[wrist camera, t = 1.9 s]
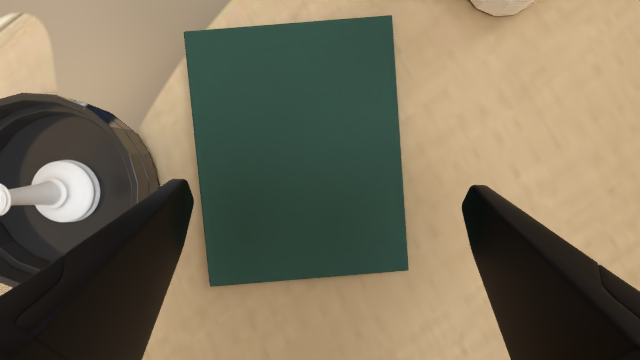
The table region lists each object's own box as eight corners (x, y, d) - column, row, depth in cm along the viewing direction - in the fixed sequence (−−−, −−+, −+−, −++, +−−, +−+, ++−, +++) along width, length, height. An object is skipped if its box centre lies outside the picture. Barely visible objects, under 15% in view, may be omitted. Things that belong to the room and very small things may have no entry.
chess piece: (51, 229, 24) (-142, 277, 14) (29, 170, 24) (-184, 176, 14) (109, 210, 24) (-42, 245, 14) (88, 151, 24) (-82, 142, 14)
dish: (157, 280, 24) (135, 297, 21) (-16, 271, 24) (-63, 286, 21) (162, 108, 24) (140, 99, 21) (-16, 97, 24) (-65, 87, 21)
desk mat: (406, 267, 25) (408, 270, 24) (212, 283, 24) (209, 286, 24) (390, 18, 23) (392, 14, 23) (186, 34, 23) (183, 31, 23)
